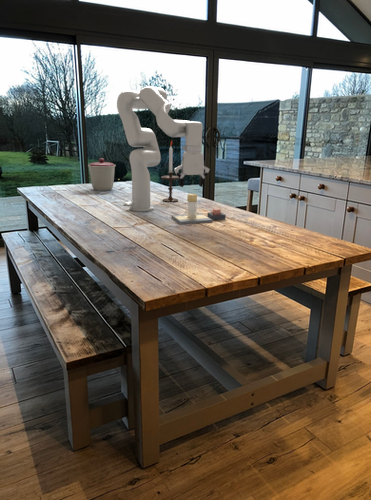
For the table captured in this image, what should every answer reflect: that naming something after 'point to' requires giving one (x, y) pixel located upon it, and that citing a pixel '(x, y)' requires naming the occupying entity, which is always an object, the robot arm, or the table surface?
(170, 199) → the candlestick
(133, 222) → the table surface
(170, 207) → the table surface
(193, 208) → the marker
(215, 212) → the button
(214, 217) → the button housing
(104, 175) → the canister
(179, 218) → the board
